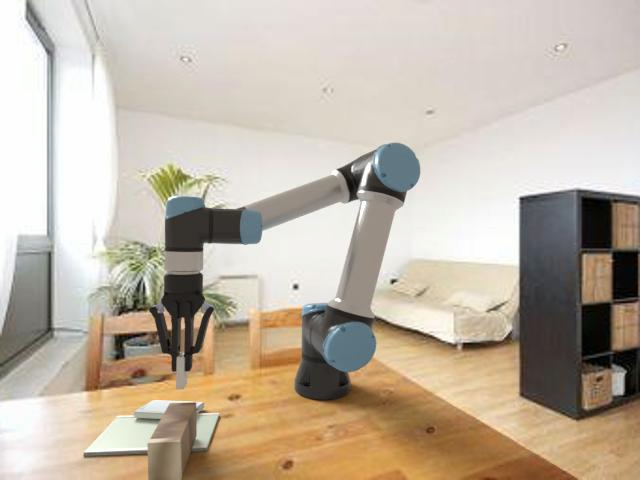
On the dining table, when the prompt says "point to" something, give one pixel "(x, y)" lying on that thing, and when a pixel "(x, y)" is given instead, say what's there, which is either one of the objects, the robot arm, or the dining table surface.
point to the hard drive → (160, 409)
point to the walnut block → (172, 442)
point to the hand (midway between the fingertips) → (181, 386)
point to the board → (144, 435)
